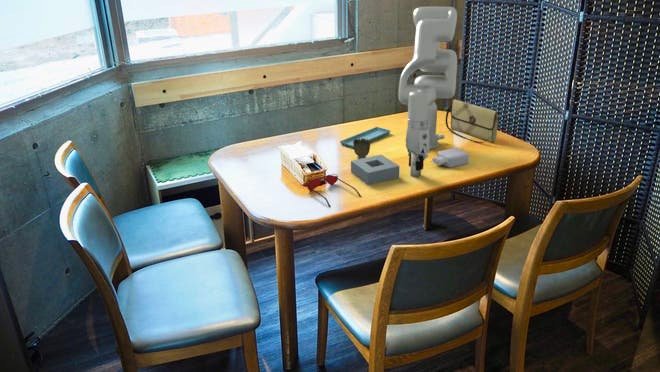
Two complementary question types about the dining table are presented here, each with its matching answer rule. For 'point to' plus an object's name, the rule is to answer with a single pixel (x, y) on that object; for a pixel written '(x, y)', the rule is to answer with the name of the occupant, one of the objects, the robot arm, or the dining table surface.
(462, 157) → the charger
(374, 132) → the shallow long dish
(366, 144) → the cup
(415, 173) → the peg
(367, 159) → the socket block
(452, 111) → the clutch purse
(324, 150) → the dining table surface
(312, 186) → the glasses
